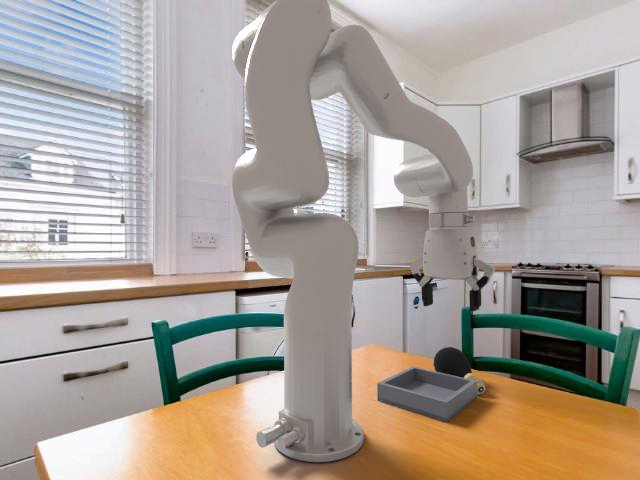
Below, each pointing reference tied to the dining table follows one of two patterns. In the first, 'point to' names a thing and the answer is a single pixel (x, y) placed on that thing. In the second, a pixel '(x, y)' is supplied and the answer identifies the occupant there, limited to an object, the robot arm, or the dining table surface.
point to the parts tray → (428, 392)
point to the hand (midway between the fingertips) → (450, 307)
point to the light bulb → (456, 366)
